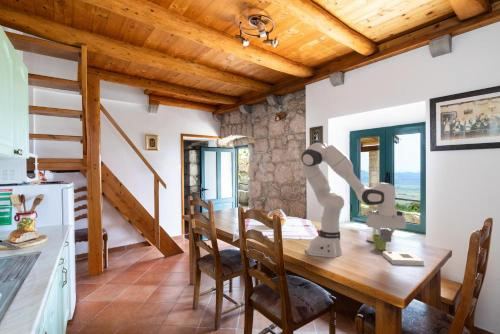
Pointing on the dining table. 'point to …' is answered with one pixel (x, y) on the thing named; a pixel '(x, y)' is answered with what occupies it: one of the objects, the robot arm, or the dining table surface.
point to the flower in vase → (373, 228)
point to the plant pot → (378, 242)
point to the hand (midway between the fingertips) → (385, 235)
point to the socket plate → (403, 258)
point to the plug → (385, 235)
